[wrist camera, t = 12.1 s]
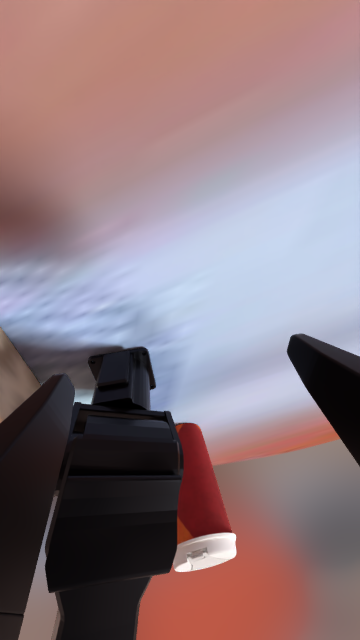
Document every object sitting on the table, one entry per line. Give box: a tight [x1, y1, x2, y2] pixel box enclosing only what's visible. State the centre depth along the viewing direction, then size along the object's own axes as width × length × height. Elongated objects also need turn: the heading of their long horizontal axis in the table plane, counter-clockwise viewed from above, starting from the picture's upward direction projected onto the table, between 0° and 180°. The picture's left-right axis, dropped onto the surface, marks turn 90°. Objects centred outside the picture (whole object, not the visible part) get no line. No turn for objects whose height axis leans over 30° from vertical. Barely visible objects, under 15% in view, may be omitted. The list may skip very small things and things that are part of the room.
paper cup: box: [173, 423, 236, 572], centre depth 28 cm, size 8×8×14 cm
